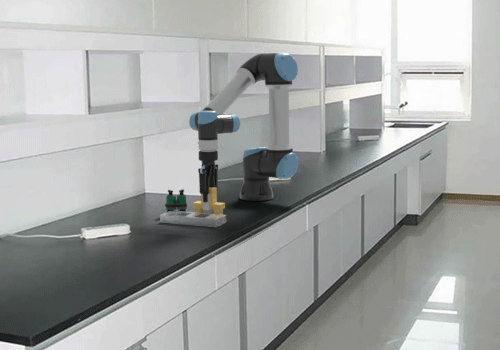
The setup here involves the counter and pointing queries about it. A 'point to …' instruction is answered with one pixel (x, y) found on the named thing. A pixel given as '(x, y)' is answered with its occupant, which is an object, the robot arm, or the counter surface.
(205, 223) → the grey board with holes
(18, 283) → the counter surface
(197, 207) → the yellow stepped block
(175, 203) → the binoculars
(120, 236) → the counter surface
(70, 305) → the counter surface
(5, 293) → the counter surface
